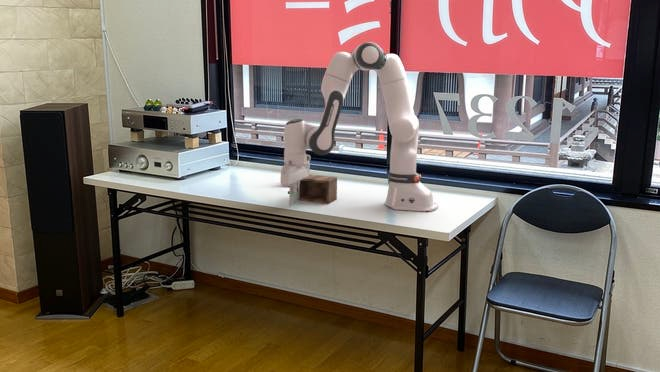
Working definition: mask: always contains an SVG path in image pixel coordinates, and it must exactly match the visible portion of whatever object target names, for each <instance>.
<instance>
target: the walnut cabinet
mask: <svg viewBox="0 0 660 372" xmlns="http://www.w3.org/2000/svg"><path fill="white" fill-rule="evenodd" d="M337 196H338V177H337V176H328V175H319V174H310V173H309V176H308V177H306V178H304V179H302V180H300V199H299V200H298V201H300V202H309V203H318V204H325V205H329V204H331V203H333V202H335V201H337V200H338V197H337Z"/></svg>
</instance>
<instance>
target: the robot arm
mask: <svg viewBox="0 0 660 372" xmlns="http://www.w3.org/2000/svg"><path fill="white" fill-rule="evenodd" d="M371 70H373V71H375V73H376V75H377V76H378V81H379V84H380V89H381V92H382V97H383V100H384V104H385V111H386V118H387V123H388V127H389V128H388V129H389V132H390V135H391V146H390V154H389V155H390V157H389V171H388V175H387V176H388V177H387V184H388V189H387V194H386V198H385V202H384V205H385V206H387V207H389V208H391V209H393V210H398V211H399V210H400V211H401V210H402V211H413V212H414V211H415V212H416V211H417V212H426V211H429V212H433V211H435V210H437V209H438V207H439V203H438V202H435V201H434V196H433V193H432V190H430V189H429V188H428V187H427V186H426V185H425V184H423V183H422V182H421V177H422V175H421V173H420V174H419V173H418V172H417V161H418V160H417V159H418V158H417V157H418V156H417V154H418V144H419V133H420V131H419V130H420V129H419V128H420V122H419V119H418V117H417V116H416V115H415V111H414V106H413V100H412V95H411V91H410V86H409V82H408V79H407V74H406V71H405V67H404V65H403V63H402V61H401V59H400V57H399V55H397V54H395V53H386V52H385V51H384V49H382V48H381V47H380V45H378V44H377V43H375V42H374V41H373V42H372V41H365V42H362V43H360V44H359V45H357V46H356V48H355V49H353V50H352V51H351V52H350V53H349V52H346V51H337V52H336V53H334V55H333V56H332V57H331V59H330V61H329V64H328V65H327V68H326V70H325V72H324V75H323V78H322V81H321V88H320V91H321V93H322V96H323V99H324V103H325V104H324V110H323V113H322V117H321V120H320V123H319V126H316V125H312V124H311V123H308V122H307V121H305V120H304V119H302V118H296V119H295V118H294V119H291V120H288V121H287V122H286V123H285V125H284V131H283V143H284V150H283V157H284V158H283V160H284V161H283V163H284V164H283V166H282V167H281V169H280V185H281V186H289V185H292V192H297V191H299V184H300V180H302V179H304V178H306V177H308V176H309V174H310V169H311V165H310V164H311V163H310V161H311V155H310V154H307V153H306V150H311V151H312V152H313V153H314V154H315V155H317V156H325V155H328V154H330V153H331V152H332V151H333V149H334V148H335V142H336V140H335V139H336V138H335V132H336V128H337V124H338V121H339V118H340V115H341V111H342V108H343V104H344V100H345V97H346V95H347V93H348V90H349V87H350V85H351V84H350V83H351V82H352V78H353V77H354V74H355V73H356V72H357V71H362V72H368V71H369V72H370V71H371ZM289 187H290V186H289Z"/></svg>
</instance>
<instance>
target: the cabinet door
mask: <svg viewBox="0 0 660 372" xmlns="http://www.w3.org/2000/svg"><path fill="white" fill-rule="evenodd" d="M289 187H290V188H289V190H288V191H287V194H288V195H289V206H290V207H291V206H293V205H294V204H296V203H297V202H298V201H299V199H300V184H299V191H297V192H292V185H290V186H289Z"/></svg>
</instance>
